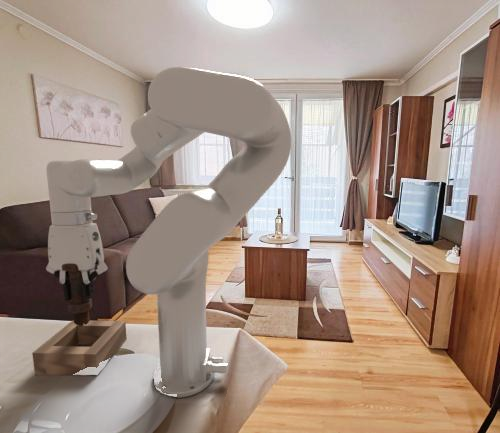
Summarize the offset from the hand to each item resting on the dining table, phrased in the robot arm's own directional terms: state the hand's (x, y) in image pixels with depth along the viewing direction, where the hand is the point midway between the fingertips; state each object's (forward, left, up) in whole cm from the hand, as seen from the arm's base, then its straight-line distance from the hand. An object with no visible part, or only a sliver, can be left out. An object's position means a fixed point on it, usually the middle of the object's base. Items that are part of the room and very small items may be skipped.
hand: (79, 297), depth 66 cm
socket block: (0, 0, -14) cm, 14 cm away
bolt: (0, 0, -6) cm, 6 cm away
